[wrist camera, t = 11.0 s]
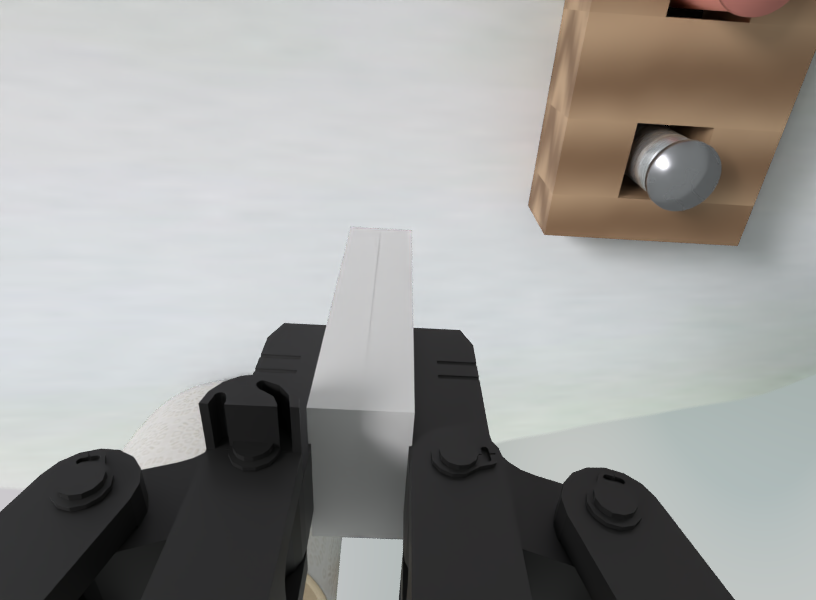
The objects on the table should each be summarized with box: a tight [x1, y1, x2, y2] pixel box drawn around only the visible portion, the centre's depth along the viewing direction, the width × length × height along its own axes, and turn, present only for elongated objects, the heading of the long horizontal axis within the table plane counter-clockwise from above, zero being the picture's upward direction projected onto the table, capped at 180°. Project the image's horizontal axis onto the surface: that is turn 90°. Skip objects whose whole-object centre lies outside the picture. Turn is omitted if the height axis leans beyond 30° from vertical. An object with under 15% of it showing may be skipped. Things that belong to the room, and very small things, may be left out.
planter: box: [122, 380, 342, 600], centre depth 47 cm, size 21×21×19 cm
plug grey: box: [625, 123, 721, 211], centre depth 37 cm, size 4×4×9 cm
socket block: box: [528, 0, 816, 246], centre depth 36 cm, size 22×14×6 cm, turn 176°
